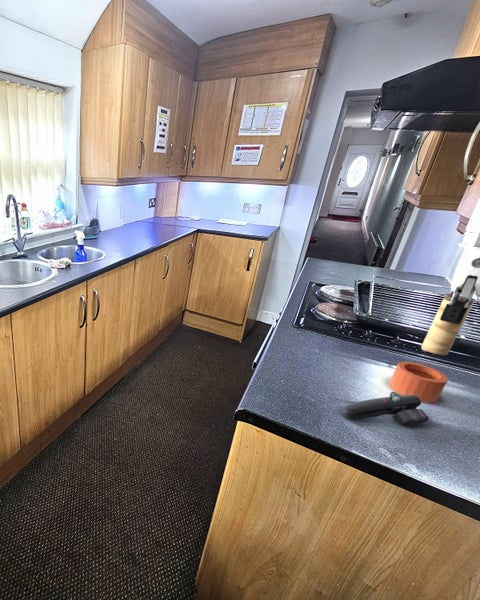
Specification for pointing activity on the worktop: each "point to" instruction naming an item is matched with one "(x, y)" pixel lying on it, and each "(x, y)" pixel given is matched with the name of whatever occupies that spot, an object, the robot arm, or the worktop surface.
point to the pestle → (443, 330)
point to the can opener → (389, 409)
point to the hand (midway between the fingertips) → (450, 317)
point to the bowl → (418, 381)
